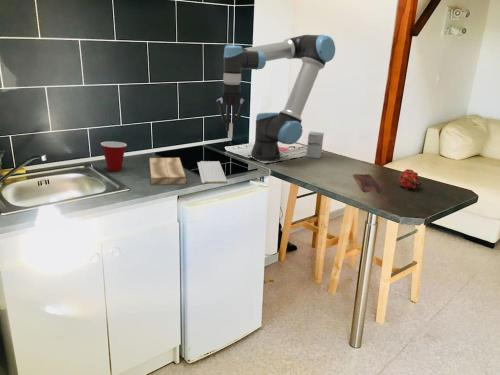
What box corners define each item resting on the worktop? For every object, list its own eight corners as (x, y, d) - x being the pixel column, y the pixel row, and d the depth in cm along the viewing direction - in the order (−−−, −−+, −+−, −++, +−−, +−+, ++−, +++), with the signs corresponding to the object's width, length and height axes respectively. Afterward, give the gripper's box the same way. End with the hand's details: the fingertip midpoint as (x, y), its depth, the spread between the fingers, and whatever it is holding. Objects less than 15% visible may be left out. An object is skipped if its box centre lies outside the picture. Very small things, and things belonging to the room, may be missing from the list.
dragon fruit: (404, 186, 192) (412, 199, 181) (391, 175, 190) (398, 187, 179) (418, 173, 189) (427, 185, 178) (405, 161, 186) (413, 173, 176)
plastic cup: (131, 170, 189) (130, 144, 185) (108, 174, 183) (106, 147, 179) (122, 164, 197) (120, 139, 193) (98, 168, 191) (96, 141, 187)
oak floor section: (179, 163, 203) (179, 157, 202) (186, 183, 176) (186, 176, 175) (149, 164, 200) (149, 158, 199) (151, 184, 172) (151, 177, 171)
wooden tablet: (351, 171, 201) (372, 170, 200) (351, 176, 202) (372, 175, 201) (362, 190, 176) (387, 189, 175) (362, 195, 177) (386, 194, 176)
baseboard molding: (198, 185, 177) (227, 184, 179) (198, 178, 176) (227, 178, 178) (194, 164, 206) (219, 164, 208) (194, 158, 205) (219, 158, 207)
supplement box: (305, 157, 226) (308, 133, 222) (307, 154, 233) (310, 131, 229) (319, 158, 225) (322, 135, 220) (321, 155, 231) (323, 132, 227)
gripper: (244, 83, 187) (242, 136, 194) (215, 82, 184) (214, 136, 191) (248, 84, 180) (246, 139, 188) (218, 83, 177) (216, 139, 184)
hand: (230, 137), depth 189 cm, fingers closed
